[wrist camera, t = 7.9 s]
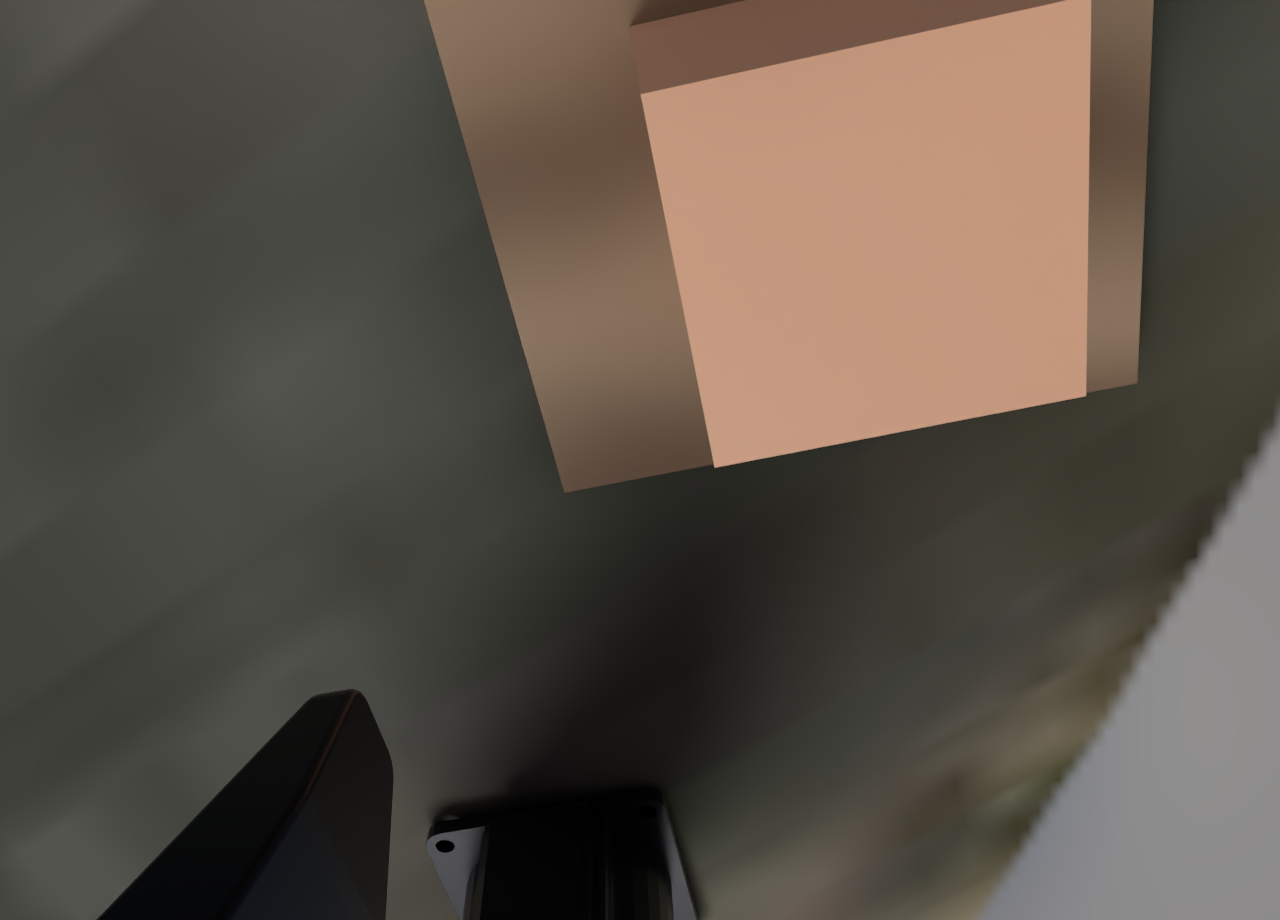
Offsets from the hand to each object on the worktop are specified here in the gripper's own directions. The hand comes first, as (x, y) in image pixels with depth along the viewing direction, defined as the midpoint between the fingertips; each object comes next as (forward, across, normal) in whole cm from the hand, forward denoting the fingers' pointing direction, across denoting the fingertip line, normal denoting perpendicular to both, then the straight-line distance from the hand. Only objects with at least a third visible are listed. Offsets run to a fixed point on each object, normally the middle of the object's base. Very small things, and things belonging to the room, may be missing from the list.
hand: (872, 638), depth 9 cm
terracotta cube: (+12, -2, -1) cm, 12 cm away
